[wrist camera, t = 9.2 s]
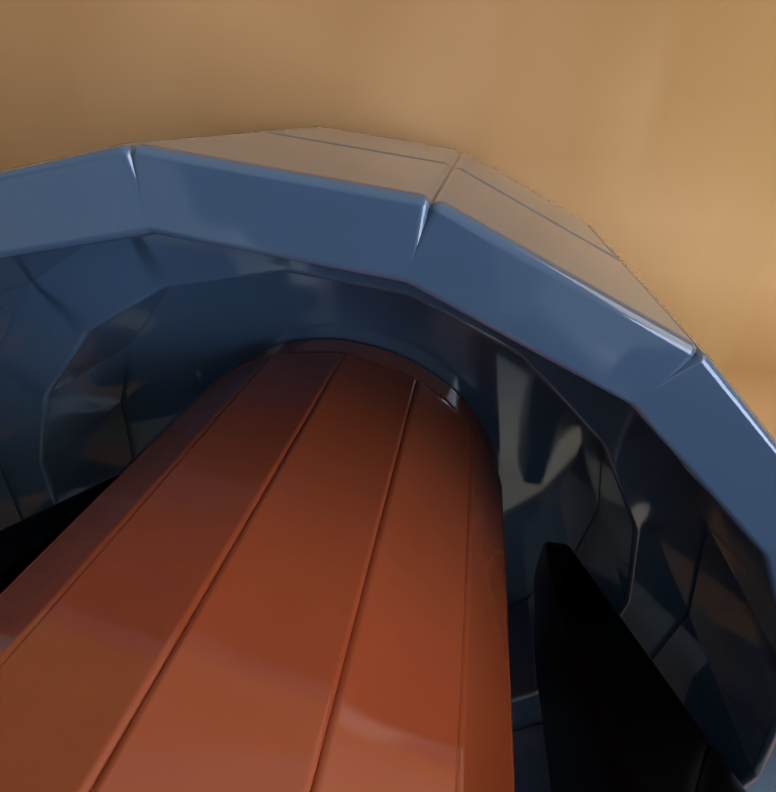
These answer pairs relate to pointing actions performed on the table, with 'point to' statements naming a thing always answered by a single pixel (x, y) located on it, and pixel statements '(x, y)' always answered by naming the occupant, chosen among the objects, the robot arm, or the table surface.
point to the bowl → (424, 345)
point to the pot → (275, 598)
